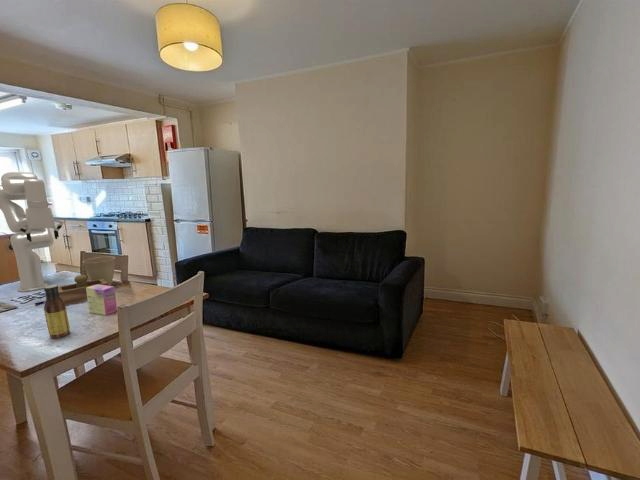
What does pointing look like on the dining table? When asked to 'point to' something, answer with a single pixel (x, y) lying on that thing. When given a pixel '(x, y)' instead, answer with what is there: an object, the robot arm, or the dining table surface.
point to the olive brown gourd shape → (81, 281)
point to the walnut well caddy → (77, 292)
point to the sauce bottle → (55, 313)
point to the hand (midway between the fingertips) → (43, 240)
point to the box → (101, 299)
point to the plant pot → (100, 268)
